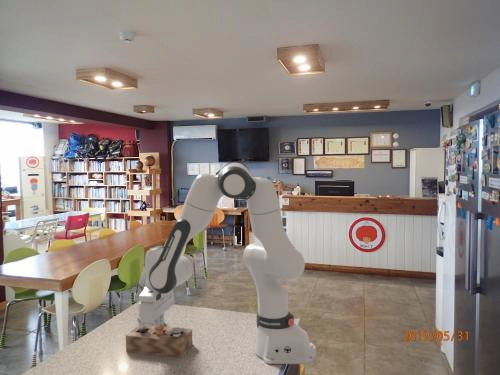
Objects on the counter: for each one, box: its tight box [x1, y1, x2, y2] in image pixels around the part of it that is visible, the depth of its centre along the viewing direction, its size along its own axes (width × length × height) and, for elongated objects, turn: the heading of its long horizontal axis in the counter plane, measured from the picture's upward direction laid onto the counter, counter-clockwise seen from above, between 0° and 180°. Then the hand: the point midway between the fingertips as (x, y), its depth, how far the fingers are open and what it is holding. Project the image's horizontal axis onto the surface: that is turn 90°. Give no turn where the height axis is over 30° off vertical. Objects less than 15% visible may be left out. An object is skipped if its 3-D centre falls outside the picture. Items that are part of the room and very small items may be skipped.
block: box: [125, 324, 193, 359], centre depth 136 cm, size 22×10×6 cm, turn 76°
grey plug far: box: [136, 316, 146, 333], centre depth 138 cm, size 4×4×6 cm
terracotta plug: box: [154, 324, 165, 335], centre depth 136 cm, size 4×4×6 cm
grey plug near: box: [172, 326, 182, 337], centre depth 134 cm, size 4×4×6 cm
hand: (159, 325), depth 136 cm, fingers closed
